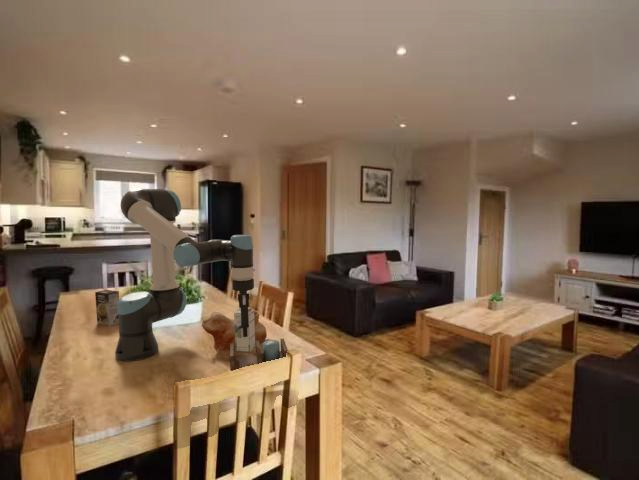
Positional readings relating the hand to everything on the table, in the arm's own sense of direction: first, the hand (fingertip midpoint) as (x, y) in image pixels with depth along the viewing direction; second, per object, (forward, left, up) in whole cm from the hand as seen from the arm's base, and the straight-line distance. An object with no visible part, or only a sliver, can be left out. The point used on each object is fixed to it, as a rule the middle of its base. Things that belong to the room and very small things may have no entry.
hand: (245, 340), depth 131 cm
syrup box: (0, 0, -3) cm, 3 cm away
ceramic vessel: (-4, +20, -9) cm, 22 cm away
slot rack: (+5, 0, -9) cm, 10 cm away
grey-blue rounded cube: (+9, 0, -8) cm, 12 cm away
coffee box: (-65, +66, -9) cm, 93 cm away
